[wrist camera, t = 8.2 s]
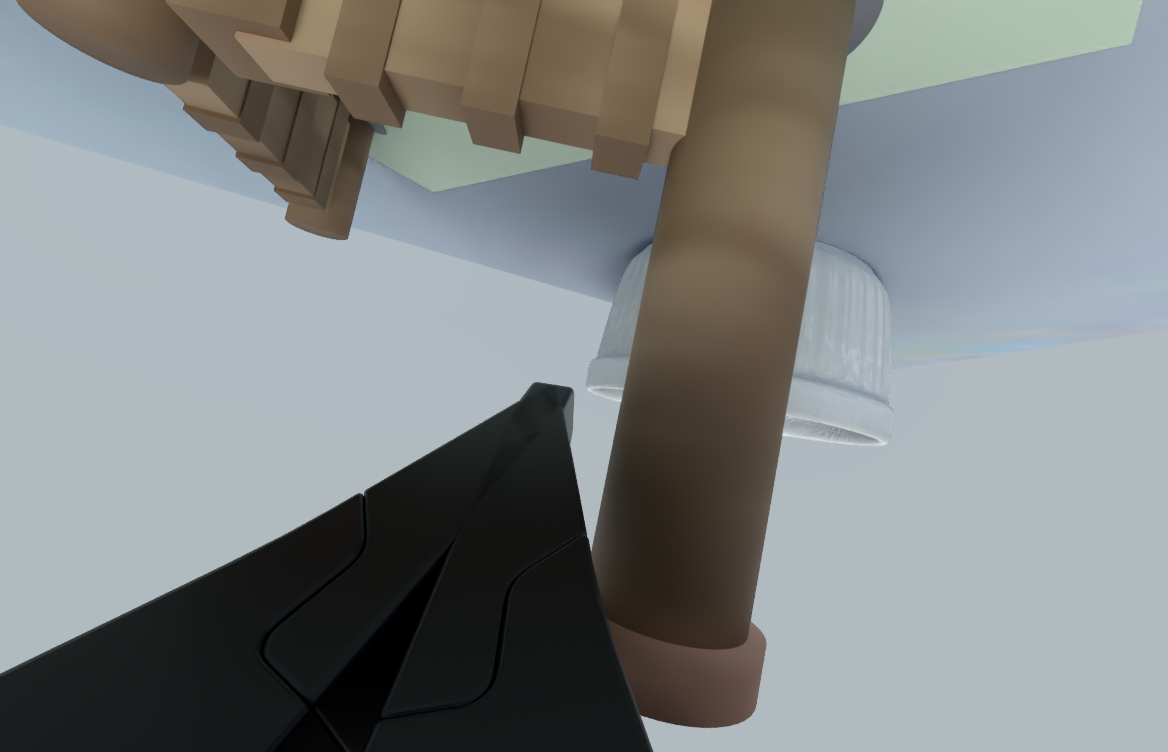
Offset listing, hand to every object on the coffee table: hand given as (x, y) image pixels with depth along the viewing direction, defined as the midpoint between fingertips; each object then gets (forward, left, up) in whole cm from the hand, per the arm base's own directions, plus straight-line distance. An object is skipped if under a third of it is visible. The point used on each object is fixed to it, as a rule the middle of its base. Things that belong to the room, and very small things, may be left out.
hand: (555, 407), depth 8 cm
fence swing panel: (-1, -1, -7) cm, 8 cm away
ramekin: (+17, -5, -8) cm, 19 cm away
